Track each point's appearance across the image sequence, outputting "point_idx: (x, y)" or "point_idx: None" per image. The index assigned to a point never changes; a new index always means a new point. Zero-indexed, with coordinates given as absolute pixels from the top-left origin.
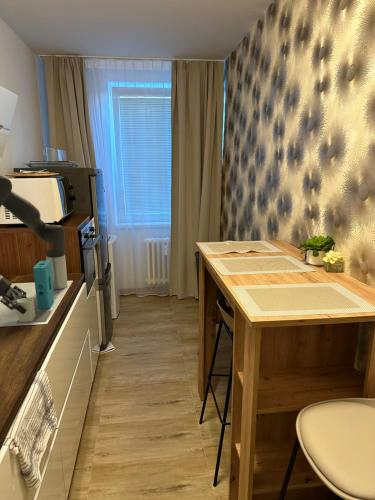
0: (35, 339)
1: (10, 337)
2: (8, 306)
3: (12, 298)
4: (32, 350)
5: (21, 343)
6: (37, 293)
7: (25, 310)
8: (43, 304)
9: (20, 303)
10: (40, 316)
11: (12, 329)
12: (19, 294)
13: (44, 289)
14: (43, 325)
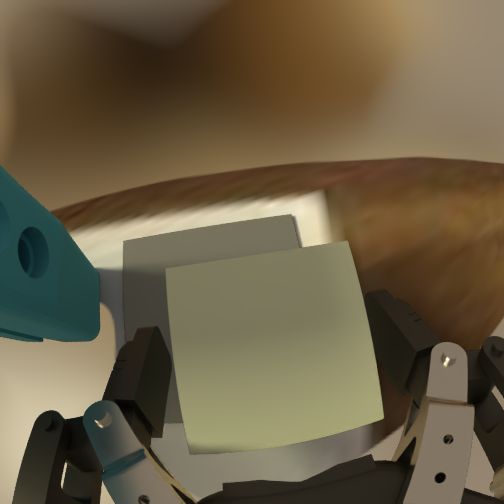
0: (460, 197)
1: (477, 318)
2: (500, 411)
3: (439, 479)
4: (500, 184)
5: (494, 238)
6: (27, 289)
7: (387, 295)
8: (85, 288)
9: (373, 373)
10: None
11: None
12: (147, 497)
13: (13, 191)
14: (343, 209)
